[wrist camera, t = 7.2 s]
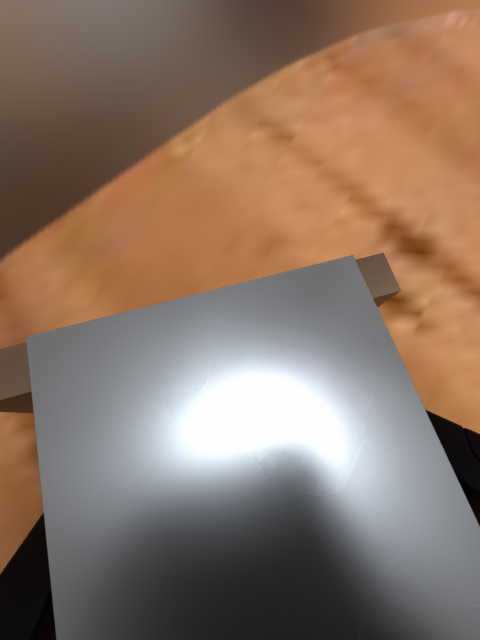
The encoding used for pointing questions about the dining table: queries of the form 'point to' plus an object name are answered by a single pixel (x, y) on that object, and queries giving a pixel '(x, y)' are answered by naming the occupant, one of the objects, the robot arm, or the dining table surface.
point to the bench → (12, 363)
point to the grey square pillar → (248, 472)
